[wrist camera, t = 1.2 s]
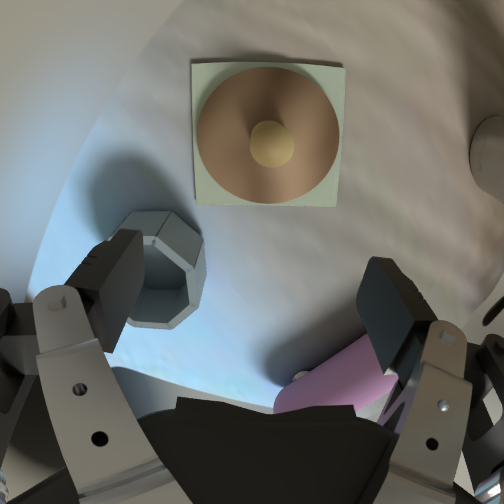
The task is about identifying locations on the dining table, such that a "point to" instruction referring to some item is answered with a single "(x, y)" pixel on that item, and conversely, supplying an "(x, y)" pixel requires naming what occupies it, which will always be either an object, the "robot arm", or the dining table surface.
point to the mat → (214, 74)
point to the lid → (268, 135)
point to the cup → (167, 269)
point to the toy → (338, 381)
